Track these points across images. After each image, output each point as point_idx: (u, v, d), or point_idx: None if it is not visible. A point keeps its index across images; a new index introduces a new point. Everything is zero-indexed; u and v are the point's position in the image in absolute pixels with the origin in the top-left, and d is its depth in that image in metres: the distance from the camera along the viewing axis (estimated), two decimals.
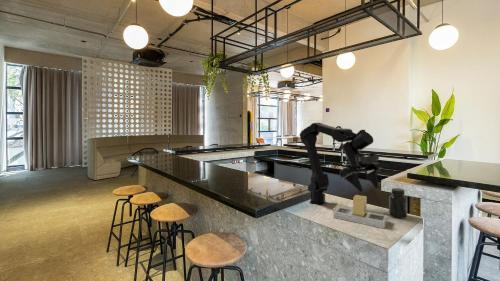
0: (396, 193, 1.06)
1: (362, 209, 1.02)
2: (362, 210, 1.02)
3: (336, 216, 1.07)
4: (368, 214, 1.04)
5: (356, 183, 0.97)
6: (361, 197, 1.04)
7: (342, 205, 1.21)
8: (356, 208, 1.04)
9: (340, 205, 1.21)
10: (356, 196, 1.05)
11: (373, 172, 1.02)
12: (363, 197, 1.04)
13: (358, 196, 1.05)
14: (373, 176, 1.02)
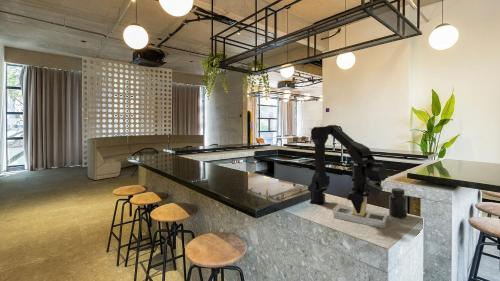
0: (396, 193, 1.06)
1: (362, 209, 1.02)
2: (362, 210, 1.02)
3: (336, 216, 1.07)
4: (368, 214, 1.04)
5: (358, 206, 1.02)
6: None
7: (342, 205, 1.21)
8: None
9: (340, 205, 1.21)
10: None
11: (364, 195, 1.06)
12: None
13: None
14: None
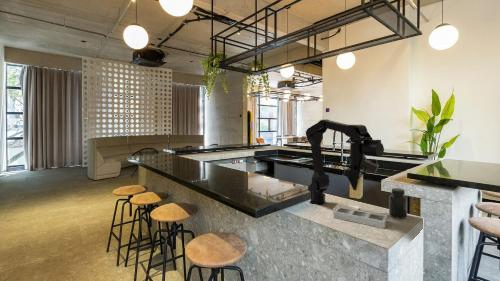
0: (396, 193, 1.06)
1: (358, 186, 1.04)
2: (358, 187, 1.05)
3: (336, 216, 1.07)
4: (368, 214, 1.04)
5: (355, 183, 1.04)
6: None
7: (342, 205, 1.21)
8: None
9: (340, 205, 1.21)
10: None
11: (361, 173, 1.08)
12: None
13: None
14: None
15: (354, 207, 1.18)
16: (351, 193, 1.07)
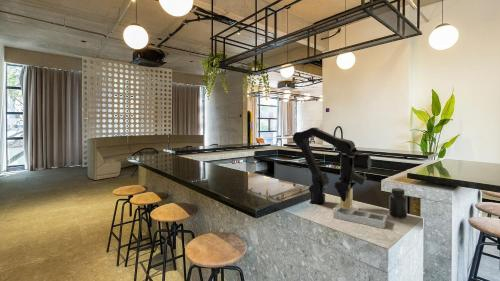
0: (396, 193, 1.06)
1: (348, 198, 1.15)
2: (348, 199, 1.15)
3: (336, 216, 1.07)
4: (368, 214, 1.04)
5: (343, 195, 1.12)
6: None
7: None
8: None
9: None
10: None
11: (351, 184, 1.20)
12: None
13: None
14: None
15: (354, 207, 1.18)
16: (342, 205, 1.17)
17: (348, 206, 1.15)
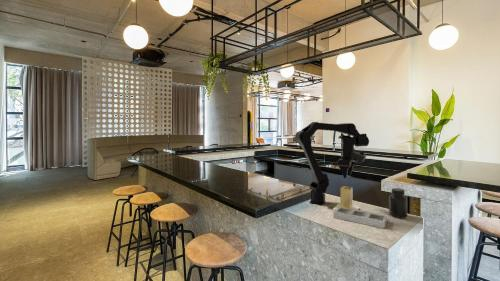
0: (396, 193, 1.06)
1: (348, 198, 1.15)
2: (348, 199, 1.15)
3: (336, 216, 1.07)
4: (368, 214, 1.04)
5: (345, 172, 1.24)
6: (347, 187, 1.17)
7: None
8: (343, 197, 1.16)
9: None
10: (343, 187, 1.18)
11: (352, 163, 1.32)
12: (349, 188, 1.16)
13: (345, 187, 1.18)
14: (351, 165, 1.32)
15: (354, 207, 1.18)
16: (342, 205, 1.17)
17: (348, 206, 1.15)
